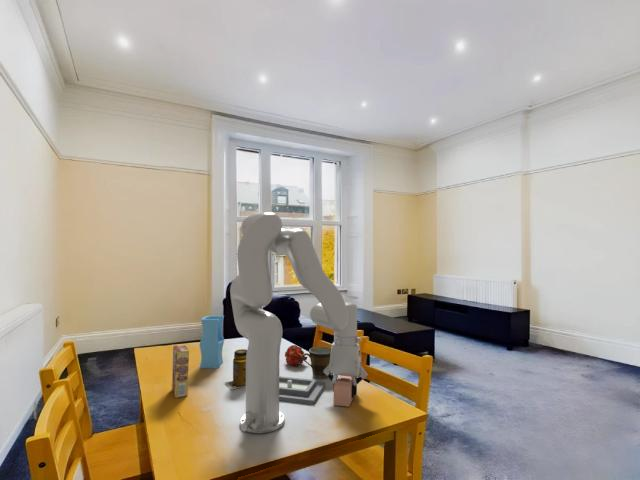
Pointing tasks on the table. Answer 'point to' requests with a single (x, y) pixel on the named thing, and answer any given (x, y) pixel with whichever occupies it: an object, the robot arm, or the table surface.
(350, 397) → the pink block with hole
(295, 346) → the dragon fruit
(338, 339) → the robot arm
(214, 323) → the vase
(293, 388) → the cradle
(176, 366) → the candy box
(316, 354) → the ceramic cup
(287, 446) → the table surface
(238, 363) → the condiment
